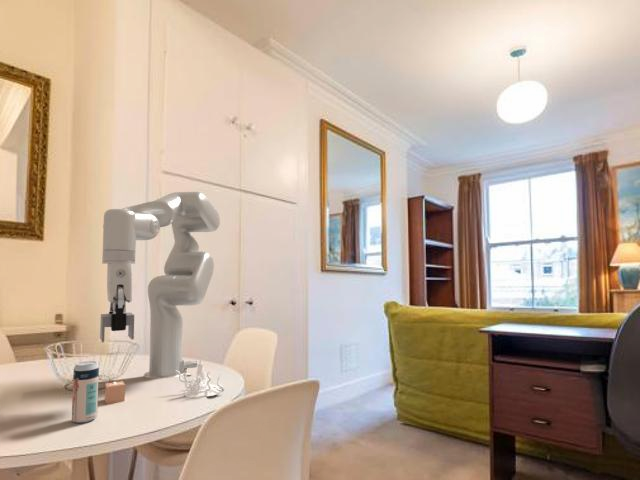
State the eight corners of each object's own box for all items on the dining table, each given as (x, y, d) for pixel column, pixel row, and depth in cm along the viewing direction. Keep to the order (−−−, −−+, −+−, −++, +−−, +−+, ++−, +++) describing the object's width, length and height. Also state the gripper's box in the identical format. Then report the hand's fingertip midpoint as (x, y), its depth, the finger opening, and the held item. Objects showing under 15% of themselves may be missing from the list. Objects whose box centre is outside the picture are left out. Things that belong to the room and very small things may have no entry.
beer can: (78, 416, 89) (80, 361, 90) (101, 415, 90) (102, 360, 91) (66, 424, 85) (69, 366, 85) (90, 423, 85) (92, 365, 86)
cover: (130, 335, 106) (130, 312, 107) (133, 339, 101) (134, 315, 101) (100, 338, 103) (100, 314, 103) (101, 342, 97) (102, 316, 97)
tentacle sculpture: (225, 394, 105) (226, 357, 106) (177, 400, 100) (177, 362, 101) (219, 385, 113) (219, 351, 114) (174, 391, 108) (174, 355, 109)
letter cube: (122, 397, 103) (123, 380, 104) (124, 401, 100) (125, 383, 100) (104, 399, 101) (105, 382, 101) (106, 404, 98) (106, 386, 98)
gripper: (139, 257, 98) (138, 331, 96) (130, 258, 112) (129, 323, 111) (104, 256, 94) (102, 334, 93) (100, 258, 109) (98, 325, 107)
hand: (117, 327), depth 102 cm, fingers closed on cover, 7 cm apart
